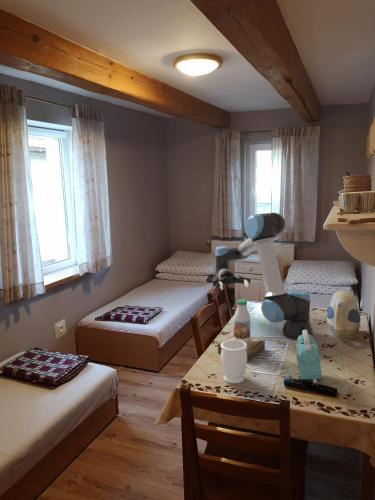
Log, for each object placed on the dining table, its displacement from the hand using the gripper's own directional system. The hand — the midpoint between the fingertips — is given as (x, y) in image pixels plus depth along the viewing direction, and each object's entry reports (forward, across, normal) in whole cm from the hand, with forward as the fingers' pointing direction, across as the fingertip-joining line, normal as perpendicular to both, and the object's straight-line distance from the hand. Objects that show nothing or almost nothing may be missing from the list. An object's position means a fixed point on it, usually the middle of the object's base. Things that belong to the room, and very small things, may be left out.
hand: (235, 286), depth 200 cm
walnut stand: (+19, +2, -27) cm, 33 cm away
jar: (+43, +12, -27) cm, 53 cm away
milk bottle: (+19, +2, -22) cm, 29 cm away
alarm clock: (+48, -18, -28) cm, 58 cm away
